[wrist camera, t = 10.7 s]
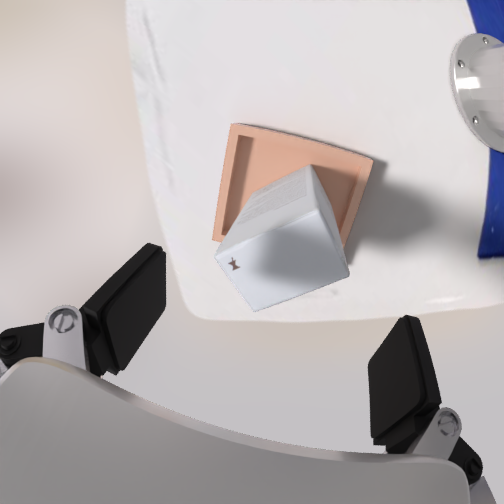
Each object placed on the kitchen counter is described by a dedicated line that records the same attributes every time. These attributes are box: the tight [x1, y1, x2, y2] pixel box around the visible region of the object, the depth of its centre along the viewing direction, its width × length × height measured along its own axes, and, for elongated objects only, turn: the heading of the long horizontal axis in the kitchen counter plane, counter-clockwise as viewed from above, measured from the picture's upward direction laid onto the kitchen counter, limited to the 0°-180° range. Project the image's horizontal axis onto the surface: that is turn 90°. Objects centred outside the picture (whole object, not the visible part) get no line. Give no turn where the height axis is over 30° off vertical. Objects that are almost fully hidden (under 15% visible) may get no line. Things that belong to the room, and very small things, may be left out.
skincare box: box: [214, 164, 349, 312], centre depth 19 cm, size 6×4×12 cm
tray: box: [212, 123, 373, 249], centre depth 24 cm, size 12×11×2 cm
